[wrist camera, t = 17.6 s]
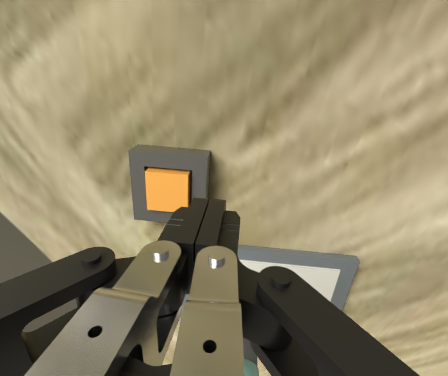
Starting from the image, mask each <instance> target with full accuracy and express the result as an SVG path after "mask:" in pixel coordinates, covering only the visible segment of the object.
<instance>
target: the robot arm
mask: <svg viewBox="0 0 448 376" xmlns="http://www.w3.org/2000/svg"><path fill="white" fill-rule="evenodd" d="M239 227H240V217H239V215H238V214H237V212H235V211H226V200H218V199H206V198H195V197H194V198H193V200H192V202H191V204H190V206H189V207H180V208H179V209H177V210H176V211H174V212H173V214H172V216H171V218H170V219H169V221H168V223H167V225H166V226H165V228H164V230H163V232H162V233H161V235H160V237H159V239H158V241H155V242H152V243H150V244H148V245H146V246H145V247H144V248H143V249H142V250H141V251H140V252H139V254H138V255H137V256H135V257H129V258H121V259H115V254H114V252H113V251H112V250H111V249H109V248H106V247H93V248H88V249H85V250H83V251H80V252H78V253H75V254H73V255H70V256H68V257H65V258H63V259H60V260H58V261H55V262H53V263H50V264H48V265H45V266H43V267H40V268H38V269H35V270H33V271H30V272H28V273H25V274H23V275H21V276H18V277H16V278H13V279H11V280H8V281H6V282H3V283H1V284H0V376H244V355H243V338H245V339H247V340H250V345H251V347H252V349H253V351H254V352H255V354H256V355H257V356H258V358H259V359H260V361H261V362H262V363H263V365H264V366H265V367H266V369H267V370H268V372H269V373H270V374H271V376H419V375H418V374H417V373H416V372H414V371H413V370H412V369H411V368H410V367H408V366H407V365H406V364H405V363H404V362H402V361H401V360H400V359H399V358H398V357H396V356H395V355H394V354H393V353H392V352H390V351H389V350H388V349H387V348H386V347H384V346H383V345H382V344H381V343H380V342H378V341H377V340H376V339H375V338H373V337H372V336H371V335H370V334H369V333H367V332H366V331H365V330H364V329H363V328H361V327H360V326H359V325H358V324H357V323H355V322H354V321H353V320H352V319H351V318H349V317H348V316H347V315H346V314H345V313H343V312H342V311H341V310H340V309H339V308H337V307H336V306H335V305H334V304H333V303H331V302H330V301H329V300H328V299H326V298H325V297H324V296H323V295H322V294H320V293H319V292H318V291H317V290H316V289H314V288H313V287H312V286H311V285H310V284H308V283H307V282H306V281H305V280H304V279H302V278H301V277H300V276H299V275H298V274H296V273H295V272H294V271H292V270H290V269H288V268H285V267H281V266H270V267H266V268H264V269H263V270H261V272H260V273H259V272H257V271H254V270H251V269H249V268H247V267H246V266H244V265H243V264H242V263H241V262H240V260H239V258H238V240H239ZM185 294H189V299H188V300H186V301H185V304H184V308H183V313H182V304H183V301H184V298H185ZM73 299H76V303H77V307H78V308H76V309H74V310H72V311H70V312H68V313H66V314H65V315H63V316H61V317H59V318H57V319H55V320H54V321H52V322H50V323H48V324H46V325H44V326H42V327H40V328H39V329H37V330H35V331H32V332H27V333H26V332H22V330H23V329H24V327H25V326H26V325H27V324H28V323H29V322H31V321H32V320H34V319H36V318H38V317H40V316H42V315H44V314H46V313H47V312H49V311H51V310H53V309H55V308H57V307H59V306H61V305H63V304H65V303H67V302H69V301H71V300H73ZM181 313H182V318H181V323H180V328H179V333H178V338H177V343H176V348H175V353H174V358H173V363H172V364H168V365H162V364H163V360H164V357H165V355H166V352H167V350H168V347H169V344H170V342H171V339H172V337H173V334H174V331H175V329H176V326H177V324H178V321H179V318H180V316H181Z"/></svg>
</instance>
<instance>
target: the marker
mask: <svg viewBox="0 0 448 376" xmlns="http://www.w3.org/2000/svg"><path fill="white" fill-rule="evenodd" d="M243 355H244V376H259V370H258V367H257V355H256V354H255V352H254V351H253V349H252V347H251V345H250V340H247V339H245V338H243Z"/></svg>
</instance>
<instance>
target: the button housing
mask: <svg viewBox="0 0 448 376" xmlns="http://www.w3.org/2000/svg"><path fill="white" fill-rule="evenodd" d="M129 163H130V175H131V187H132V198H133V210H134V219H136V220H146V221H157V222H168V221H169V219H170V218H171V216H172V214H173V212H167V211H156V210H147V200H146V183H145V171H146V170H147V169H148V168H149V167H158V168H170V169H181V170H192V173H191V202H192V200H193V198H194V197H195V198H206V199H208V189H209V168H210V151H209V150H197V149H185V148H173V147H161V146H149V145H137V146H135V147H134V148H132V149H131V150H129Z"/></svg>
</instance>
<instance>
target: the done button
mask: <svg viewBox="0 0 448 376" xmlns="http://www.w3.org/2000/svg"><path fill="white" fill-rule="evenodd" d="M191 173H192V170H181V169H170V168H158V167H149V168H148V169H147V170H146V171H145V183H146V200H147V210H156V211H167V212H174V211H176V210H177V209H179V208H180V207H189V206H190V204H191Z"/></svg>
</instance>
